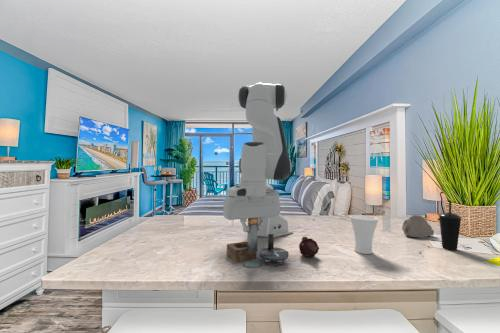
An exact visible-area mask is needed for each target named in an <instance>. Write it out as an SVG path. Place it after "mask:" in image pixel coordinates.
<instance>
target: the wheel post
mask: <svg viewBox="0 0 500 333" xmlns="http://www.w3.org/2000/svg"><path fill="white" fill-rule="evenodd" d="M283 261H284V260H280V261H272V260H266V259H264V262H265V263H266V264H267V265H270V266H279V265H282V264H283V263H284V262H283Z"/></svg>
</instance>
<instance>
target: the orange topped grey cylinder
mask: <svg viewBox="0 0 500 333" xmlns="http://www.w3.org/2000/svg"><path fill="white" fill-rule="evenodd" d="M247 226H249V232H246V233H247V238H246V239H247V240H246V242H247V251H248V252H256V253H257V252H258V237H259V236H258V218H248V219H247Z"/></svg>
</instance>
